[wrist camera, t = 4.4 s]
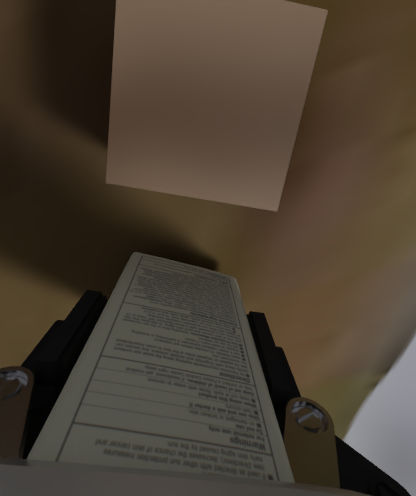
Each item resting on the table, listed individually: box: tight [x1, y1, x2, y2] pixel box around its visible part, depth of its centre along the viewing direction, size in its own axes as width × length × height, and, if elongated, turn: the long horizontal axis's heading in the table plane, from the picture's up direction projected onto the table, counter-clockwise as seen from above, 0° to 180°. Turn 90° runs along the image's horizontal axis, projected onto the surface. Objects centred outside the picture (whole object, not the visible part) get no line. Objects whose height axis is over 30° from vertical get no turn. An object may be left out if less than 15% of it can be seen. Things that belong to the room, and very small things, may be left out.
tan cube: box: [106, 0, 328, 211], centre depth 10 cm, size 5×5×5 cm
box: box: [27, 252, 295, 483], centre depth 9 cm, size 5×4×11 cm
